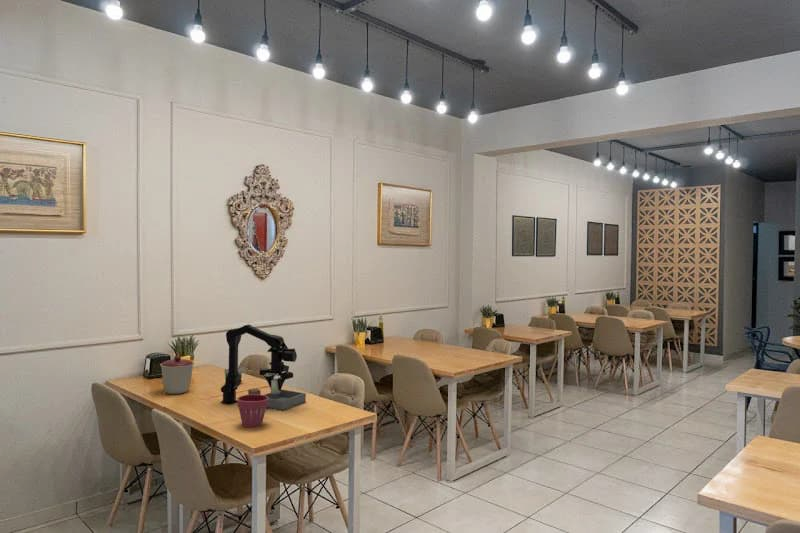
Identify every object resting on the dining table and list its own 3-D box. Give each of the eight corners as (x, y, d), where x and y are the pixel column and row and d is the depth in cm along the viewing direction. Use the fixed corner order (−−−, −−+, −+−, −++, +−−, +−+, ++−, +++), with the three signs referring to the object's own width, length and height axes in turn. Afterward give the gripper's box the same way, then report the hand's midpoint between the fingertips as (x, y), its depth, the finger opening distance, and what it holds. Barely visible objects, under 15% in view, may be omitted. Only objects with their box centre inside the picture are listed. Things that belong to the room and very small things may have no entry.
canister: (160, 389, 317) (161, 353, 317) (193, 387, 323) (194, 352, 323) (158, 397, 300) (159, 359, 300) (193, 395, 306) (194, 357, 306)
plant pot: (270, 420, 264) (271, 394, 264) (264, 429, 250) (265, 401, 250) (240, 419, 263) (241, 393, 263) (232, 428, 249) (233, 401, 249)
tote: (282, 411, 280) (282, 401, 280) (256, 406, 288) (256, 396, 288) (305, 402, 298) (305, 393, 298) (280, 397, 305) (281, 389, 305)
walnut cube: (260, 399, 302) (260, 390, 302) (251, 400, 299) (251, 391, 299) (256, 397, 306) (256, 388, 306) (248, 398, 303) (248, 389, 303)
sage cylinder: (276, 394, 285) (276, 381, 285) (268, 392, 287) (269, 379, 287) (282, 392, 289) (282, 379, 289) (275, 391, 292) (275, 378, 292)
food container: (229, 387, 327) (230, 370, 327) (223, 385, 331) (224, 369, 331) (246, 383, 337) (247, 367, 337) (240, 382, 341) (241, 366, 341)
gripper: (300, 360, 291) (299, 389, 291) (272, 356, 299) (271, 384, 300) (286, 363, 281) (286, 393, 281) (258, 359, 289) (258, 388, 290)
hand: (275, 389), depth 288 cm, fingers closed on sage cylinder, 5 cm apart
